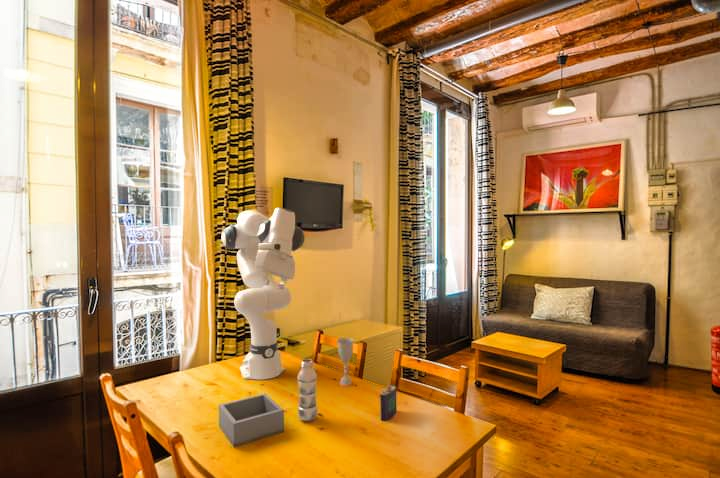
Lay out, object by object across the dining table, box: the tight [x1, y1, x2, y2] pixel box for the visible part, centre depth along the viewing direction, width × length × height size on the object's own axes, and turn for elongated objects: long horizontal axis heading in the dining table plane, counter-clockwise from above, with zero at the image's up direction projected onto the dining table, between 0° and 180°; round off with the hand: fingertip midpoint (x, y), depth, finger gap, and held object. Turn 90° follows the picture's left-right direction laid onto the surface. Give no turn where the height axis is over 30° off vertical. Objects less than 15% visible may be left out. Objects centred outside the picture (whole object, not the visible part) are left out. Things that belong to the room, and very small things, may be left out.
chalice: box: [336, 337, 355, 386], centre depth 168 cm, size 7×7×18 cm
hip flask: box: [379, 384, 397, 422], centre depth 138 cm, size 9×3×11 cm, turn 148°
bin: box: [218, 393, 285, 448], centre depth 130 cm, size 16×16×7 cm
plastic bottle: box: [296, 358, 319, 422], centre depth 136 cm, size 6×7×20 cm
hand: (273, 287), depth 144 cm, fingers open, 8 cm apart
